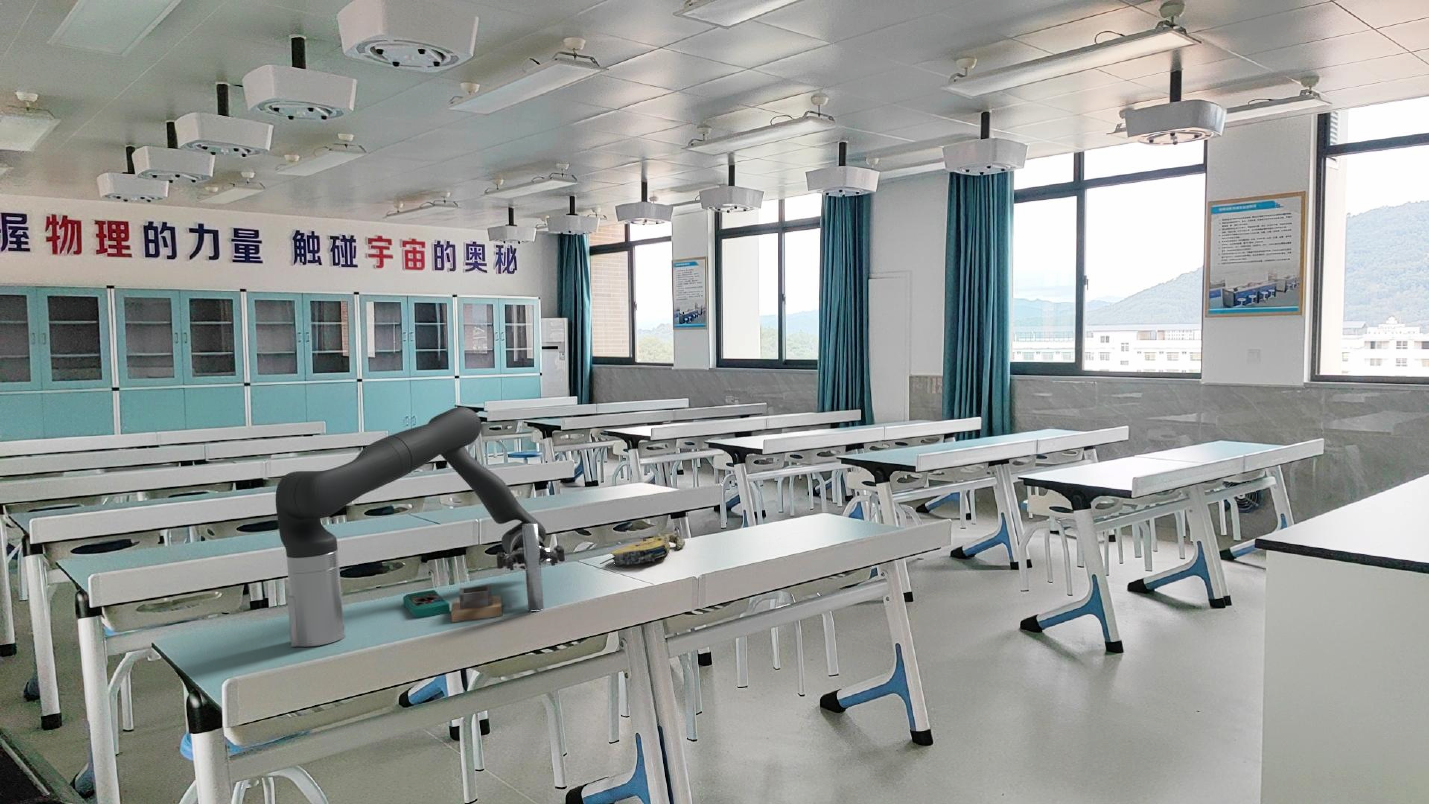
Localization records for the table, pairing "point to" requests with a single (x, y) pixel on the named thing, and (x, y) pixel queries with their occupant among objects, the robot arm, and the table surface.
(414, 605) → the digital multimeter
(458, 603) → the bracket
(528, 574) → the rod
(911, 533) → the table surface
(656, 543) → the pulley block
